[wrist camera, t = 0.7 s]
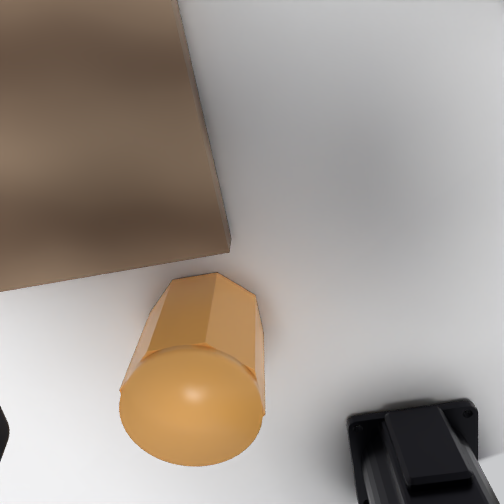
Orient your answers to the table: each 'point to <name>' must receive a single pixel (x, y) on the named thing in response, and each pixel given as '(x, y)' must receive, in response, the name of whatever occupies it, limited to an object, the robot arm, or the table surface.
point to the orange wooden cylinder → (197, 374)
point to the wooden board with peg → (101, 142)
